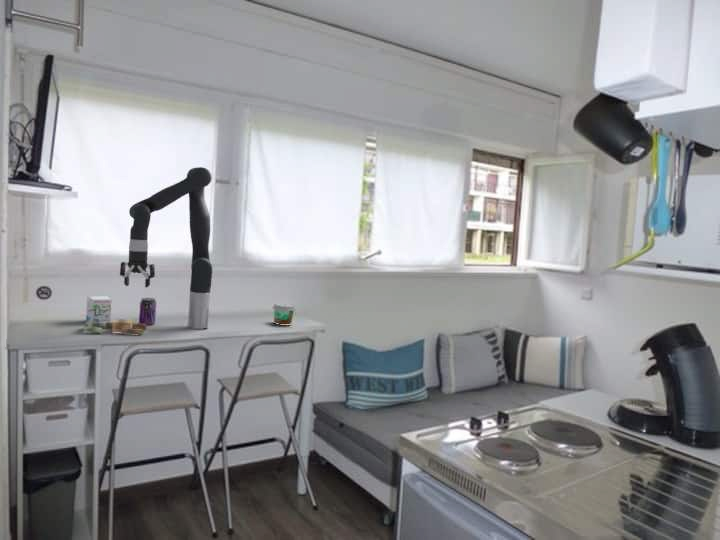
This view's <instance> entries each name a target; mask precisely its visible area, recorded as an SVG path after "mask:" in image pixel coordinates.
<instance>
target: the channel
mask: <svg viewBox="0 0 720 540" xmlns="http://www.w3.org/2000/svg"><path fill="white" fill-rule="evenodd" d="M112 326H113V322H110V323H109V322H93V319H90V320H88V321H86V322H85V323H84V327H83V334H84V333H101V334H102V329H105V328H112ZM147 326H148V325H147V324H140V323H135V322H134V323H133V326H132V329H121V334H138V335H137V336H140V335H143V336H144V331H146V330H147Z"/></svg>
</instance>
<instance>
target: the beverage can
mask: <svg viewBox="0 0 720 540" xmlns="http://www.w3.org/2000/svg"><path fill="white" fill-rule="evenodd" d="M138 313H139V314H138V316H139V318H138V324H147V325H146V326H152V325H154V324H156V315H157V302H156V298H154V297H143V298H141V300H140V302H139V312H138Z"/></svg>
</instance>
